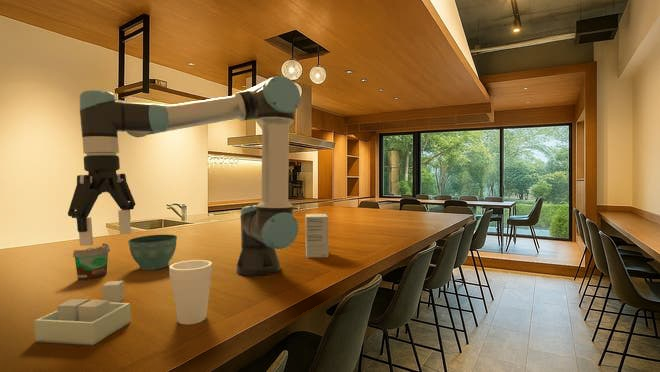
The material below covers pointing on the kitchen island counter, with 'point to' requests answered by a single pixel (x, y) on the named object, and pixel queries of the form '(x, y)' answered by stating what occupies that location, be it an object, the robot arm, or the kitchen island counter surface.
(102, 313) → the stone
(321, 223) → the supplement box
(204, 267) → the foam cup
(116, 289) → the stone
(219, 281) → the kitchen island counter surface
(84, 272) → the food container
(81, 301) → the stone
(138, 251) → the flower pot
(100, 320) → the bin
